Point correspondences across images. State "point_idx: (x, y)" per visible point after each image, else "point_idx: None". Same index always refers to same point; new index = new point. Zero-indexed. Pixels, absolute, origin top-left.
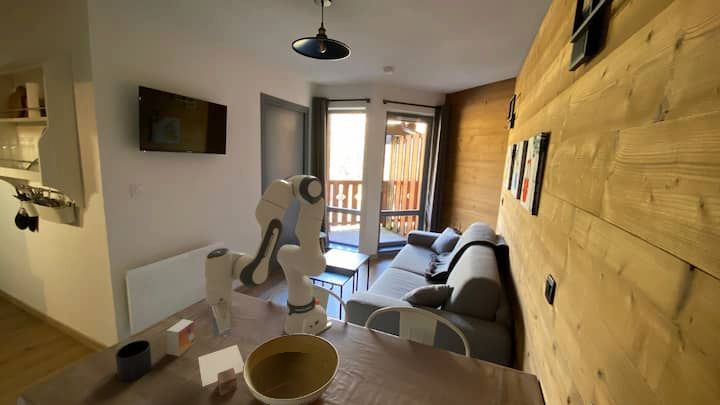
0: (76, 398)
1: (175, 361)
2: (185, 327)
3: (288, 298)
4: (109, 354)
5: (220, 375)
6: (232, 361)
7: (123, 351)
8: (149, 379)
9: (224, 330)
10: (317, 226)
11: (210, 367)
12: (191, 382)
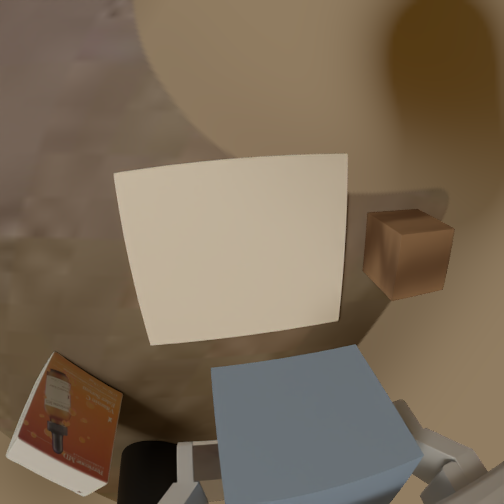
0: None
1: (145, 399)
2: (67, 464)
3: None
4: None
5: (409, 289)
6: (252, 206)
7: None
8: (208, 438)
9: (413, 415)
10: None
11: (244, 301)
12: (288, 352)
